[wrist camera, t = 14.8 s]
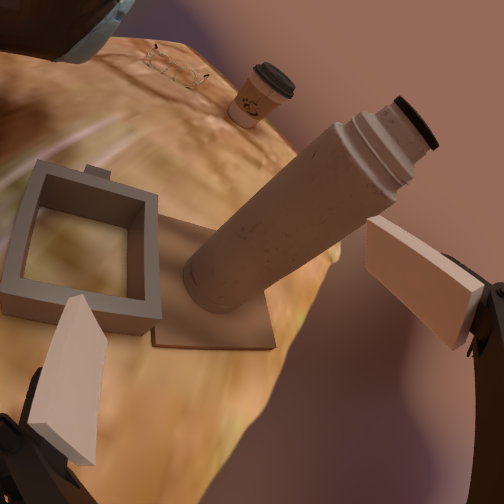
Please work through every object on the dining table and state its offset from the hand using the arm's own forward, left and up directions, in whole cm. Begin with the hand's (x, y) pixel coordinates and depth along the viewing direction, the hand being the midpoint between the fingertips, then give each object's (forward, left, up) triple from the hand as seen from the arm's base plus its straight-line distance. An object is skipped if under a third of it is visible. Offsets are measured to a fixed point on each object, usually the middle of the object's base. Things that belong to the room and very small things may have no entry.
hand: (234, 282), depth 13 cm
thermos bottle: (-10, +12, -18) cm, 24 cm away
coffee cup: (-56, +26, -19) cm, 65 cm away
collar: (-12, -4, -18) cm, 22 cm away
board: (-10, +12, -18) cm, 24 cm away
